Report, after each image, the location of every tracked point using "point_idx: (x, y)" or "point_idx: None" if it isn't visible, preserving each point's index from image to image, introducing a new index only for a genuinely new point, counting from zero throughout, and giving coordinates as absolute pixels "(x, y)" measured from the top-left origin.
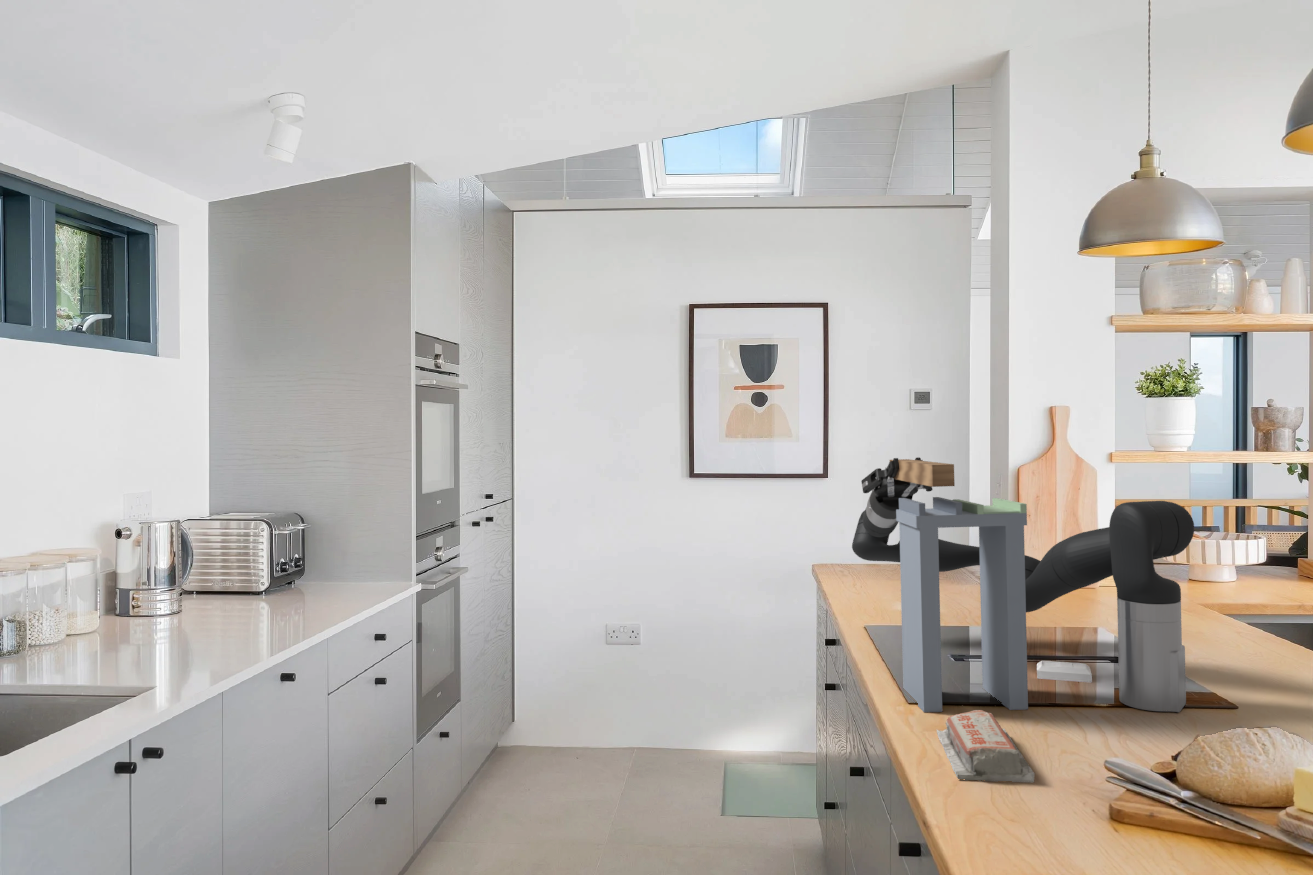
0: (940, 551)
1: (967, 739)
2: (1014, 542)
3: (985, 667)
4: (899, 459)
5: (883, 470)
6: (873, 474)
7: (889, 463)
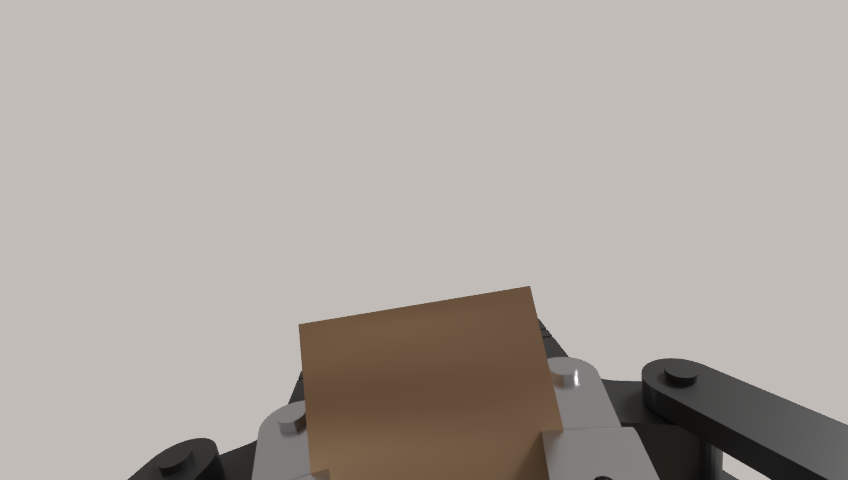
0: None
1: None
2: None
3: None
4: (409, 307)
5: (615, 387)
6: (773, 431)
7: (541, 329)
